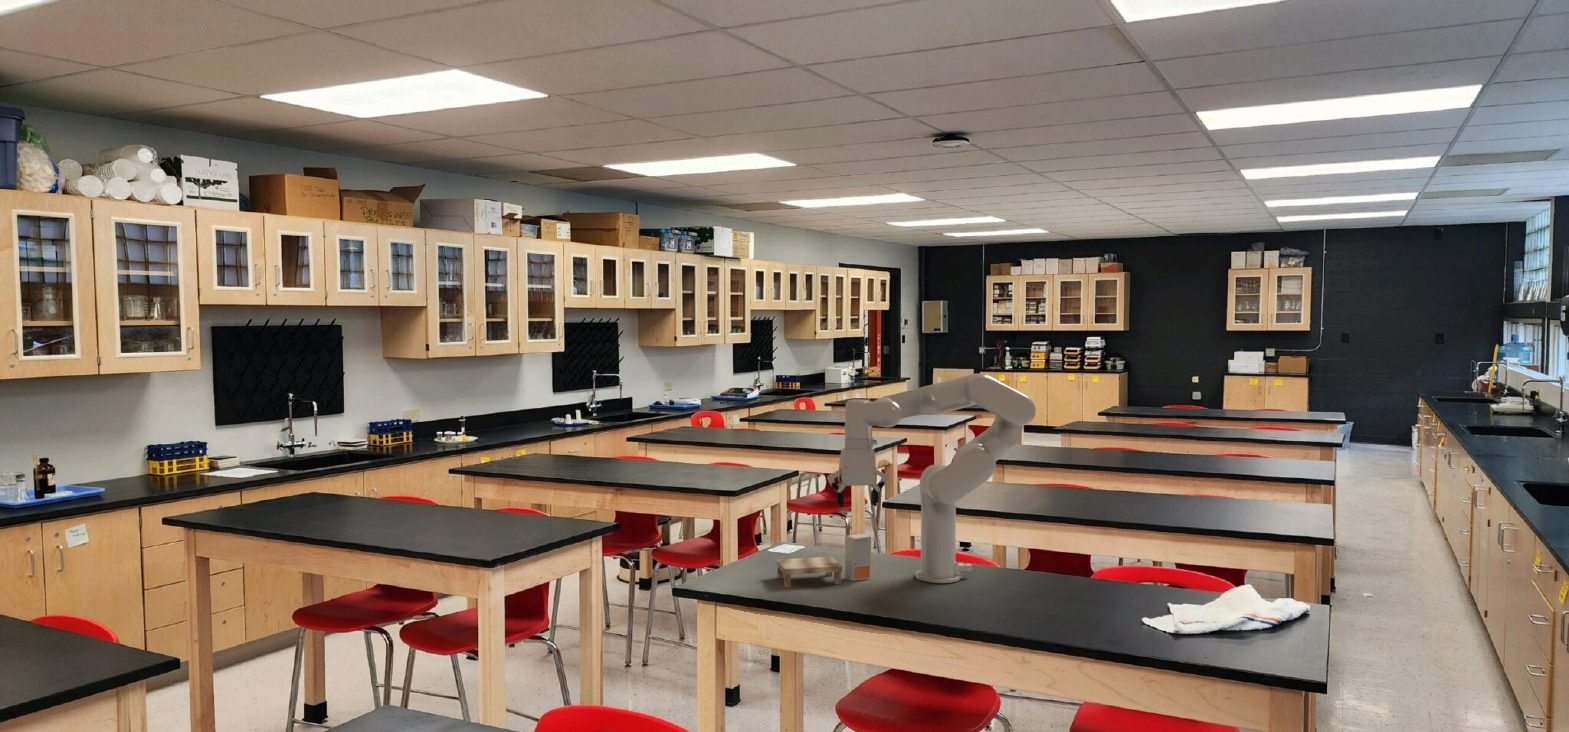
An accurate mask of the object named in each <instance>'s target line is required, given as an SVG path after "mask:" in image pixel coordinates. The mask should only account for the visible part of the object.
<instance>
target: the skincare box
mask: <svg viewBox="0 0 1569 732" xmlns="http://www.w3.org/2000/svg"><path fill="white" fill-rule="evenodd" d="M844 546H845V551H844V552H845V554H844V556H845V562H844V578H845V579H847V580H848V581H851V582H855V581H862V580H870V579H871V561H872V557H871V555H872V554H871V553H872V536H871V535H867V534H865V533H858V534H857V533H856V534H850V535H845V545H844Z"/></svg>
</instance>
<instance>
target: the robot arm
mask: <svg viewBox="0 0 1569 732" xmlns="http://www.w3.org/2000/svg"><path fill="white" fill-rule="evenodd" d="M975 405H977V406H979V407H981V408H983V409H984V410H985V411H988V412H989V413H992V414H993V415H995V417H994V419H993V422H992V424H991V425H990V426H989V427H988V428H987V429H986V430H984V431H982V432H981V433H980V434H979V435H977V436H975V437H974V438H973V439H972V440H971V439H970V441H968V442H967V443H965V444H963V445H962V446H959V448H958V449H957V450H956V451H955V453H954V455H953V461H951V462H950V463H949V464H947V465H944V464H938V463H935V464H930V465H929V466H927V467H926V468H925V469H924V470H923V472H922V473H921V476H920V479H919V493H920V513H921V515H920V516H921V518H920V519H921V521H920V569H918V570H916V571H915V572H914V573H915V574H914V576H915V578H916V579H917V580H919V581H921V582H924V583H925V582H926V583H930V584H931V583H933V584H951V583H955V582H959V581H960V580H961V579H962V578H961V577H962V575H961V572H962V571H963V572H967V571H972V570H973V565H972V563H964V562H958V561H956V536H957V534H956V531H957V530H956V525H957V524H956V523H957V521H956V520H957V517H956V516H957V513H956V512H957V509H956V507H957V506H956V503H957V502H959V501H960V500H961V499H963V498H964V497H966V496H968V495H969V494H971V493H972V492H973V491H974V490H976V489H977V488H979V487H980V486H982V485H983V484H985V483H986V482H987V481H988V480H989V479H990V478H991V477H992V476H993V475H994V472H995V471H996V467H997V465H996V464H997V463H996V462H997V461H998V460H1000V459H1001V458H1003V456H1005V455H1006V454H1007V453H1008V452H1010V451H1011V450H1012V449H1014V448H1015V446H1016V445H1017V444H1018V442H1019V441H1020V439H1021V437H1022V433H1023V430H1024V426H1026V425H1028V424H1030V423H1031V422H1032V421H1033V420H1034V419H1035V417H1036V413H1037V408H1036V404H1035V402H1034V401H1033V399H1032V398H1030V397H1029V396H1028V395H1026V394H1024V393H1022V392H1020V391H1018V390H1016V389H1015V388H1012V387H1010V386H1009V385H1006V384H1005V383H1003V382H1001V381H999V380H997V379H996V378H994V377H992V376H990V375H987V374H984V373H983V374H982V373H971V374H967V375H963V376H959V377H956V378H953V379H948V380H945V381H941V382H936V383H933V384H929V385H924V386H921V387H917V388H914V389H909V390H906V391H901V392H897V393H892V394H890V395H889V394H888V395H885V396H882V397H880V398H877V399H875V400H874V401H871V400H869V399H860V398H859V399H858V398H855V399H849V400H847V401H846V402H845V406H844V407H845V409H844V410H845V411H844V415H845V416H844V448H841V449H840V450H841V451H840V455H839V464H838V470H836V471H834V472H832V473H830V474H829V475H827V477H826V478H827V481H828V483H829V484H830V487H831V488H832V489H834V491H835V494H836V496H835V497H836V501H835V502H836V504H837V506H839V508H843V507H844V500H845V499H844V497H845V496H844V495H845V494H844V492H843V490H844V489H845V488H846V487H847V486H848V487H851V486H852V487H853V486H854V487H856V486H870V487H871V489H872V490H871V491H870V493H871V494H870V504H871V505H872V506H874V507H877V506H878V503H879V499H880V497H879V493H880V492H881V489H882V488H884V487H885V485H886V483H887V480H888V478H889V475H888V474H886V473H884V472H882V471H880V470H878V469H877V461H876V460H877V458H876V453H875V449H874V448H873V446H876V445H878V444H877V443H878V440H877V439H874V438H873V426H874V427H875V426H876V427H881V428H893V427H895V426H896V425H898V424H899V423H900V422H901V420H903V419H907V418H911V417H917V416H937V415H943V414H946V413H950V412H953V411H958V410H961V409H964V408H968V407H972V406H975ZM877 477H880V480H879V482H878V483H877ZM836 478H837V480H838V482H839V483H838V484H837V483H836V482H835V479H836Z"/></svg>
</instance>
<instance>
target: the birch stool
mask: <svg viewBox="0 0 1569 732" xmlns="http://www.w3.org/2000/svg"><path fill="white" fill-rule="evenodd" d="M775 564H776V565H775V566H776V578H777V579H778V580H782V579H783V586H784V588H791V587H792V581H791V580H792V575H803V574H804V575H806V574H807V575H808V574H823V573H824V574H825V576H826V575H827V576H826V577H832V576H833V575H834V576H833V584H834V585H836V584H837V585H842V573H843V566H842V564H840V563H839V562H838V561H837V560H836V559H834V557H832V556H819V557H802V558H801V557H799V558H780V559H779V558H778V559H776V560H775Z"/></svg>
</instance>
